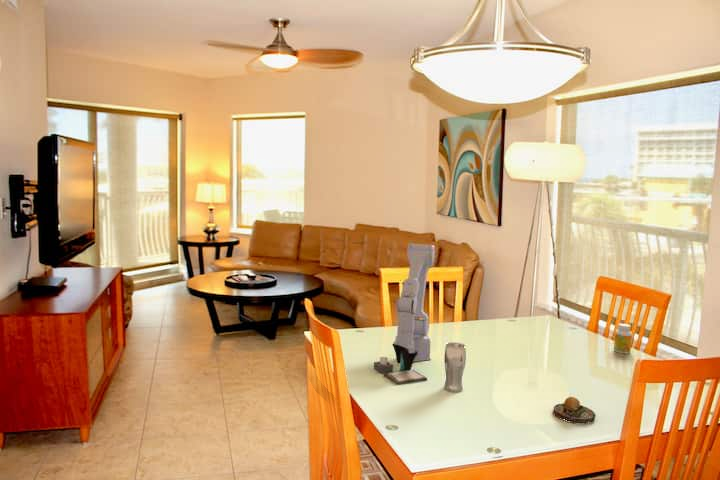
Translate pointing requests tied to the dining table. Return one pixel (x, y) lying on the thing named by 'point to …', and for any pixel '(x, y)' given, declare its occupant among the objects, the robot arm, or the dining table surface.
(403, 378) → the grey flat tray
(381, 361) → the button cap
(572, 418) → the dark base with ball
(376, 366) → the button box
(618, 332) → the supplement bottle
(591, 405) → the dining table surface
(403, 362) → the marker
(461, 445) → the dining table surface
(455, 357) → the beer glass
